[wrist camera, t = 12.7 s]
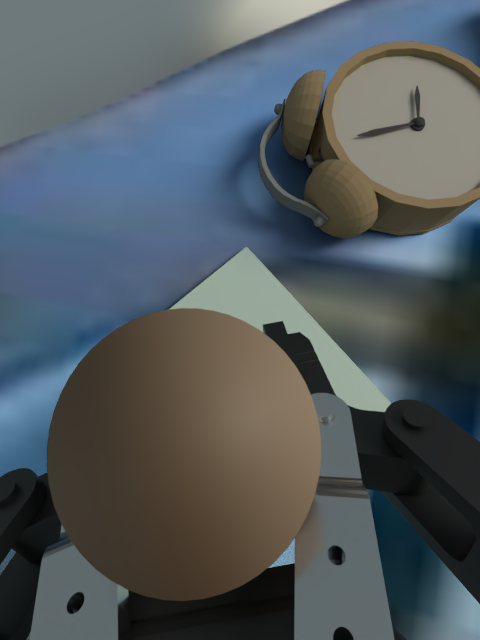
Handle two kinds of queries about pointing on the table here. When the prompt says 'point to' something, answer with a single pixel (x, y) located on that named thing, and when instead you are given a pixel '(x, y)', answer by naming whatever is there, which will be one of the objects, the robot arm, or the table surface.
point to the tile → (279, 305)
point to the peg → (184, 454)
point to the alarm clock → (384, 141)
